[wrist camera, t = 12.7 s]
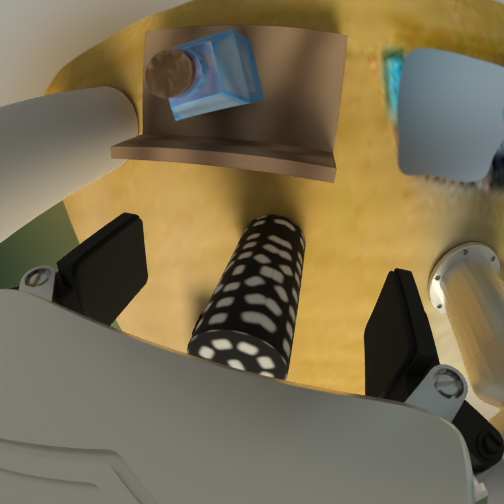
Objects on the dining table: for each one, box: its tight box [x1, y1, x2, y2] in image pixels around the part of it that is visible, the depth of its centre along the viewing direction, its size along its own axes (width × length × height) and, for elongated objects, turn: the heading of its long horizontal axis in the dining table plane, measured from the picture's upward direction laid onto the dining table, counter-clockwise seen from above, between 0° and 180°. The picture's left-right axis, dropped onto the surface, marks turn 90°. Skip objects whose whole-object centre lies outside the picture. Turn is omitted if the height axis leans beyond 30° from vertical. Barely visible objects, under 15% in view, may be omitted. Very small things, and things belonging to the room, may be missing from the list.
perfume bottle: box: [145, 29, 264, 121], centre depth 20 cm, size 6×6×12 cm
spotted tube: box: [187, 215, 305, 380], centre depth 31 cm, size 8×8×20 cm
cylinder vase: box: [0, 86, 138, 243], centre depth 25 cm, size 12×12×25 cm
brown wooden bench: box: [110, 25, 348, 183], centre depth 25 cm, size 20×13×12 cm, turn 86°
